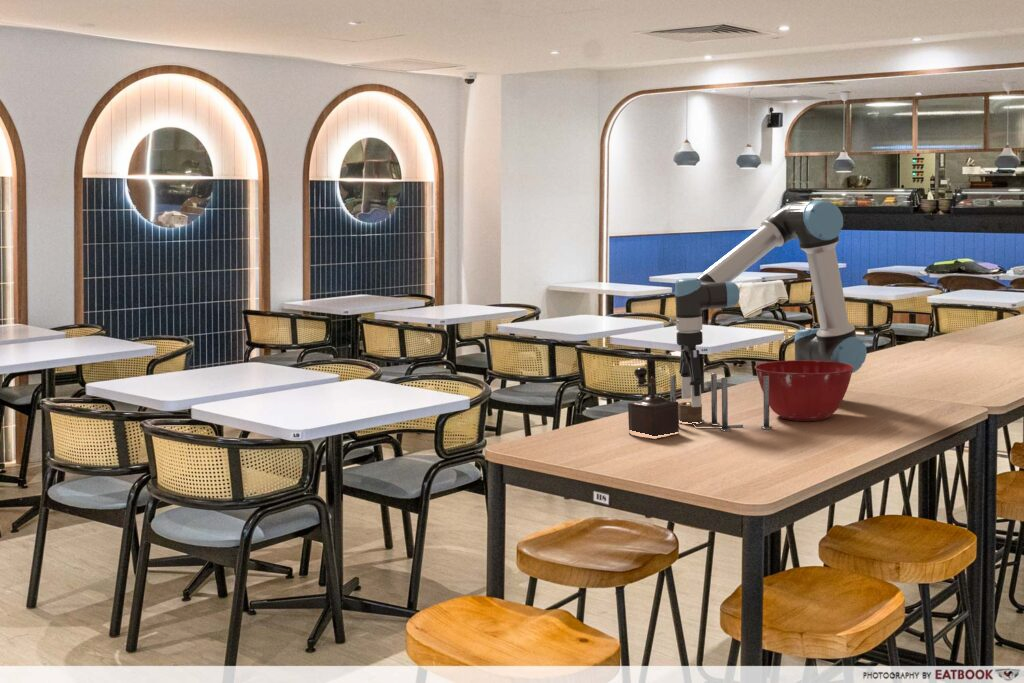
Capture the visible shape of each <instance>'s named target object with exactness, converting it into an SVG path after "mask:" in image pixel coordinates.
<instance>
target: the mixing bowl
mask: <svg viewBox="0 0 1024 683" xmlns="http://www.w3.org/2000/svg"><path fill="white" fill-rule="evenodd" d="M754 369H755V371H756V375H757V380H758V382H759V385H760V388H761V391H762V392H763V376H769V408H770V409H771V410H772V411H773V412H774V413H775V414H776V415H778V416H779V417H780V418H781V419H784V420H787V421H789V420H790V421H799V422H800V421H801V422H802V421H803V422H815V421H822V420H825V419H828V417H830V416H832V415H833V414H834V413H835V412H836V411H837V410H838V408H839V407H840V404H841V403H842V401H843V399H844V398H845V395H846V393H847V390H848V388H849V384H850V382H851V378H852V374H853V373H852V370H853V369H854V367H853V366H852V365H849V364H845V363H839V362H831V361H814V360H795V359H794V360H778V361H768V362H767V361H766V362H763V363H758V364H756V365H755V366H754Z"/></svg>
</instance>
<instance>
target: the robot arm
mask: <svg viewBox="0 0 1024 683" xmlns="http://www.w3.org/2000/svg"><path fill="white" fill-rule="evenodd" d="M843 227H844V218H843V213H842V211H841V210H840V208H839V207H838V206H837V205H836V204H835V203H833V202H831V201H829V200H823V199H813V200H812V199H809V200H794V201H792V202H788V203H787V204H785V205H783V206H782V207H780V208H779V209H777V210H775V212H773V213H772V214H770V215H769V216H768V217H767V218H765V219H764V220H763V221H762V222H761V223H760V227H759V228H758V229H756V230H755V231H754V232H753V233H752V234H751V235H749V236H748V237H747V238H745V239H744V240H742V241H741V242H740V243H739V244H737V245H736V246H735V247H734V248H732V250H730V251H729V252H727V253H726V254H725V255H724V256H722V257H721V258H720V259H719V260H718V261H716V262H714V264H712V265H711V266H709V267H708V268H707V269H705V271H703V272H702V273H701V274H699V275H698V276H697V277H688V278H687V277H685V278H684V277H683V278H678V279H677V280H676V281H675V287H674V300H675V320H674V324H675V325H676V330H677V332H676V344H677V345H678V346H680V360H679V361H680V362H679V370H678V372H679V374H680V379H681V380H680V382H681V399H683V400H685V399H690V400H691V401H690V402H692V407H701V404H702V384H703V383H704V380H703V376H702V367H701V366H702V365H701V359H700V350H699V349H697V347H696V346H701V345H702V344H703V331H701V330H703V310H713V309H728V308H734V307H736V306H737V305H738V303H739V301H740V296H741V295H740V290H739V287H738V285H737V284H736V283H735V282H733V281H734V280H735V279H737V278H738V277H739V276H740V275H741V274H743V273H744V272H745V271H746V270H748V269H749V268H750V267H751V266H753V265H754V264H755V263H756V262H758V261H759V260H761V259H762V258H763V257H764V256H766V255H767V254H768V253H769V252H772V250H773V249H775V247H780V248H781V247H782V246H783V245H784V244H786V243H788V242H790V241H792V240H796V239H797V240H798V244H799V249H800V250H801V251H803V252H805V254H806V258H807V264H808V269H809V275H810V281H811V285H812V291H813V296H814V302H815V306H816V311H817V312H816V313H817V318H818V322H819V328H807V329H798V330H797V331H796V332H795V334H794V341H793V343H794V360H814V361H831V362H839V363H845V364H849V365H852V366H853V367H854V369H853V370H852V374H854V373H855V372H858V371H859V370H860V368H862V366H863V364H864V363H865V361H866V358H867V347H866V344H865V343H864V341H863V340H862V339H861V338H859V337H857V333H856V328H855V326H854V325H853V324H851V323H850V322H849V316H848V312H847V311H848V310H847V305H846V300H845V295H844V290H843V284H842V283H843V282H842V278H841V271H840V268H839V263H838V258H837V251H836V246H837V244H839V242H840V237H839V235H840V233H841V232H842V229H843Z"/></svg>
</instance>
